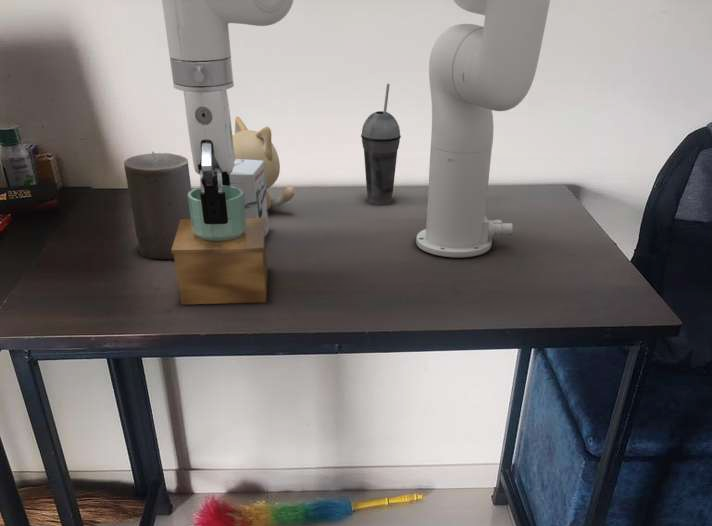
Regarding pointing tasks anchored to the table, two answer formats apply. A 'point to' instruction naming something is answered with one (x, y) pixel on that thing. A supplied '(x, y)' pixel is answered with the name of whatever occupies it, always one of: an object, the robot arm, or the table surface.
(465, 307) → the table surface
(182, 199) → the pillar candle
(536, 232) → the table surface
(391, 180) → the beverage cup
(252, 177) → the ink box
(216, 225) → the teal green pot
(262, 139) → the kitten
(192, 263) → the wooden stand
